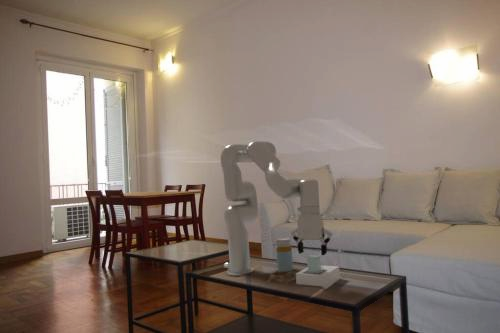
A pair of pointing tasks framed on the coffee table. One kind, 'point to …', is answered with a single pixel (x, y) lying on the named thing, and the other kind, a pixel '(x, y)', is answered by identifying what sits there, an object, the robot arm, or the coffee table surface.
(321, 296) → the coffee table surface
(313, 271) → the plug
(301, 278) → the panel
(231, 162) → the robot arm
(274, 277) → the square wooden tray
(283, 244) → the bottle
